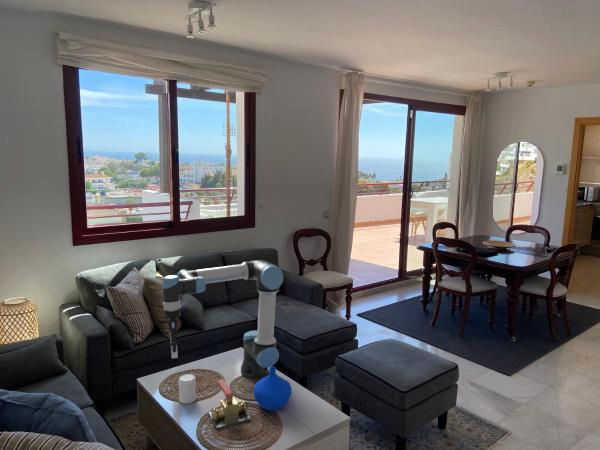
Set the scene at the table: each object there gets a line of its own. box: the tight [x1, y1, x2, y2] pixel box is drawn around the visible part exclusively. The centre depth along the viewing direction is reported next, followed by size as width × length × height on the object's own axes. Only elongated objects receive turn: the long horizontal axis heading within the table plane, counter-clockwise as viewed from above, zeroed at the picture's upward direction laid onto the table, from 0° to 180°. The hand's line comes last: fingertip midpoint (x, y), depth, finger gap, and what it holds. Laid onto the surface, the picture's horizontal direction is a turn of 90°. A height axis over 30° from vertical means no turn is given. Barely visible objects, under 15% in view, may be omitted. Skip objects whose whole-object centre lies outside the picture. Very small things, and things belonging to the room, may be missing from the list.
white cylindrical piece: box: [178, 373, 197, 405], centre depth 219 cm, size 8×8×12 cm
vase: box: [253, 366, 292, 411], centre depth 215 cm, size 18×18×19 cm
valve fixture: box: [208, 396, 252, 431], centre depth 205 cm, size 16×13×10 cm
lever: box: [217, 378, 234, 399], centre depth 209 cm, size 15×4×2 cm, turn 27°
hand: (174, 351), depth 211 cm, fingers open, 13 cm apart
